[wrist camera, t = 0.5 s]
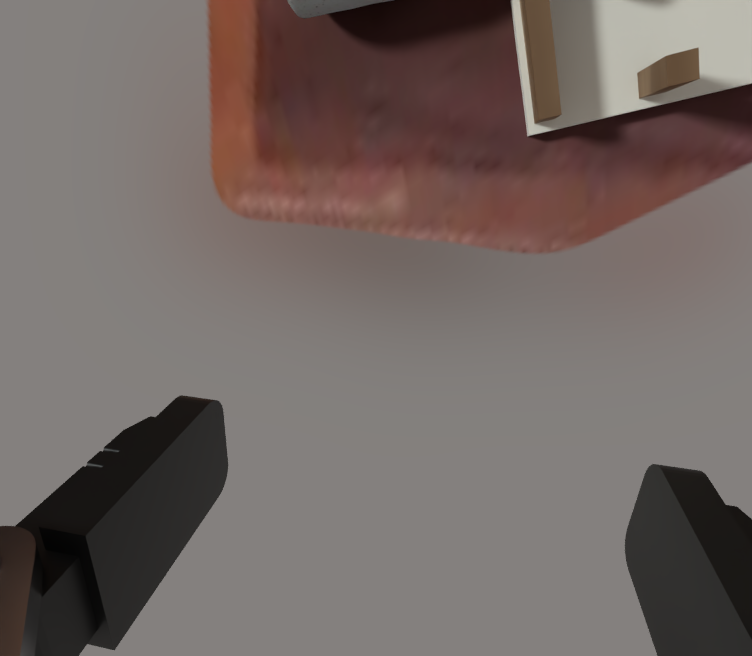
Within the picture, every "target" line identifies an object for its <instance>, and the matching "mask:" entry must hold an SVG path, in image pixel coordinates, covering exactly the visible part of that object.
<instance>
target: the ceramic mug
mask: <svg viewBox="0 0 752 656" xmlns="http://www.w3.org/2000/svg"><path fill="white" fill-rule="evenodd" d="M287 1H288V3H289V4H290V6H291V8H292V9H293V10H294V12H295V13H296V14H297V16H299V17H301V18H304V19H305V18H310V17H315V16H320V15H324V14H329V13H333V12H339V11H344V10H349V9H354V8H358V7H362V6H366V5H370V4H375V3H381V2H387V1H393V0H287Z"/></svg>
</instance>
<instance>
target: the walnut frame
mask: <svg viewBox="0 0 752 656" xmlns="http://www.w3.org/2000/svg"><path fill="white" fill-rule="evenodd" d="M519 1H520V9H521V17H522V26H523V34H524V42H525V50H526V59H527V67H528V75H529V83H530V91H531V100H532V108H533V116H534V124H536V123H540V122H544V121H548V120H552V119H555V118H557V117H559V116H560V115H562V113H561V104H560V94H559V85H558V76H557V66H556V57H555V48H554V38H553V29H552V20H551V11H550V1H549V0H519ZM637 77H638V92H639V99H640V98H644V97H648V96H652V95H656V94H660V93H664V92H667V91H670V90H672V89H675V88H678V87H680V86H683V85H685V84H688V83H690V82H693V81H695V80H698V79H700V72H699V47H698V48H694V49H690V50H686V51H682V52H679V53H675V54H671V55H667V56H665V57H663V58H661V59H660V60H658V61H656V62H655V63H653V64H651V65H650V66H648V67H646V68H645V69H643V70H641V71H640V72H638V73H637Z"/></svg>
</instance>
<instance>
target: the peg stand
mask: <svg viewBox="0 0 752 656" xmlns="http://www.w3.org/2000/svg"><path fill="white" fill-rule="evenodd" d="M510 1H511V9H512V17H513V25H514V33H515V41H516V49H517V57H518V65H519V72H520V80H521V88H522V96H523V104H524V112H525V120H526V128H527V136H532V135H536V134H540V133H544V132H549V131H553V130H557V129H561V128H566V127H570V126H574V125H578V124H583V123H587V122H591V121H595V120H600V119H604V118H608V117H612V116H617V115H621V114H625V113H629V112H634V111H638V110H642V109H646V108H651V107H655V106H659V105H663V104H668V103H672V102H676V101H680V100H685V99H689V98H693V97H697V96H702V95H706V94H710V93H714V92H719V91H723V90H727V89H731V88H736V87H740V86H744V85H748V84H752V0H549V1H550V11H551V20H552V29H553V38H554V48H555V57H556V66H557V76H558V85H559V94H560V104H561V113H562V115H560V116H559V117H557V118H555V119H552V120H548V121H544V122H540V123H536V124H534V116H533V108H532V100H531V91H530V83H529V75H528V67H527V59H526V50H525V42H524V34H523V26H522V17H521V9H520V1H519V0H510ZM698 47H699V72H700V79H698V80H695V81H693V82H690V83H688V84H685V85H683V86H680V87H678V88H675V89H672V90H670V91H667V92H664V93H660V94H656V95H652V96H648V97H644V98H640V99H639V92H638V77H637V73H638V72H640V71H641V70H643V69H645V68H646V67H648V66H650V65H651V64H653V63H655V62H656V61H658V60H660V59H661V58H663V57H665V56H667V55H671V54H675V53H679V52H682V51H686V50H690V49H694V48H698Z"/></svg>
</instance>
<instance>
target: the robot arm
mask: <svg viewBox="0 0 752 656" xmlns="http://www.w3.org/2000/svg"><path fill="white" fill-rule="evenodd" d="M227 471H228V458H227V448H226V436H225V426H224V415H223V408H222V405H221V403H220V402H219V401H217V400H210V399H202V398H196V397H188V396H179V397H177V398H176V399H175V400H174V401H172V402H171V403H170V404H169V405H168V406H167V407H166V408H165V409H164V410H163V411H162V412H161V413H160V414H159V415H157V416H156V417H148V418H147V419H144V420H142V421H141V422H139V423H137V424H135V425H133V426H131V427H129V428H127V429H125V430H123V431H122V432H121V433H120V434H119V435H118V436H117V437H115V438H114V439H113V440H112V441H111V442H110V443H109V444H107V445H106V446H105V447H104V451H103V452H102V451H100V452H99V453H97V454H96V455H95V456H94V457H93V458H92V459H91V460H89V461H88V462H87V466H86V467H84V466H83V467H82V468H80V469H79V470H78V471H77V472H76V473H75V474H74V475H72V476H71V477H70V478H69V479H68V480H67V481H66V482H65V483H63V484H62V485H61V486H60V487H59V488H58V489H57V490H56V491H55V492H53V493H52V494H51V495H50V496H49V497H48V498H46V500H44V501H43V502H42V503H41V504H40V505H39V506H37V507H36V508H35V509H34V510H33V511H32V512H31V513H30V514H29V515H27V516H26V517H25V518H24V519H23V520H22V521H21V522H19V523H18V524H17V525H16V526H0V656H79V654H80V653H81V652H82V650H83V649H84V647H85V646H86V645H87V644H91V645H94V646H99V647H103V648H107V649H112V650H115V648H116V647H117V646H118V644H119V643H120V641H121V640H122V638H123V637H124V635H125V634H126V632H127V631H128V629H129V628H130V626H131V625H132V623H133V622H134V621H135V619H136V618H137V616H138V614H139V613H140V611H141V610H142V609H143V607H144V606H145V604H146V603H147V601H148V600H149V598H150V597H151V596H152V594H153V593H154V591H155V590H156V588H157V587H158V585H159V583H160V582H161V581H162V579H163V578H164V576H165V575H166V573H167V572H168V571H169V569H170V568H171V566H172V565H173V563H174V562H175V560H176V559H177V557H178V556H179V554H180V553H181V551H182V550H183V548H184V547H185V545H186V544H187V542H188V541H189V540H190V538H191V537H192V535H193V534H194V532H195V531H196V529H197V528H198V526H199V525H200V523H201V522H202V520H203V519H204V518H205V516H206V514H207V513H208V512H209V510H210V509H211V507H212V506H213V504H214V503H215V501H216V500H217V498H218V497H219V495H220V494H221V492H222V490H223V487H224V484H225V481H226V477H227ZM625 554H626V561H627V566H628V570H629V573H630V575H631V579H632V581H633V584H634V587H635V590H636V593H637V596H638V599H639V602H640V605H641V608H642V611H643V614H644V617H645V620H646V623H647V626H648V629H649V632H650V635H651V638H652V641H653V644H654V646H655V649H656V652H657V655H658V656H752V519H751V518H749V517H748V516H747V515H746V514H745V513H744V512H742V511H741V510H740V509H739V508H738V507H735V506H729V505H725V503H724V502H723V500H722V499H721V497H720V496H719V494H718V492H717V491H716V489H715V488H714V486H713V485H712V483H711V482H710V480H709V479H708V477H707V476H706V474H704V473H703V472H702V471H697V470H691V469H684V468H677V467H670V466H663V465H656V464H653V465H651V466H649V468H648V469H647V471H646V473H645V476H644V479H643V482H642V485H641V488H640V491H639V494H638V497H637V500H636V503H635V507H634V510H633V513H632V516H631V519H630V522H629V525H628V528H627V533H626V539H625Z"/></svg>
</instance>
